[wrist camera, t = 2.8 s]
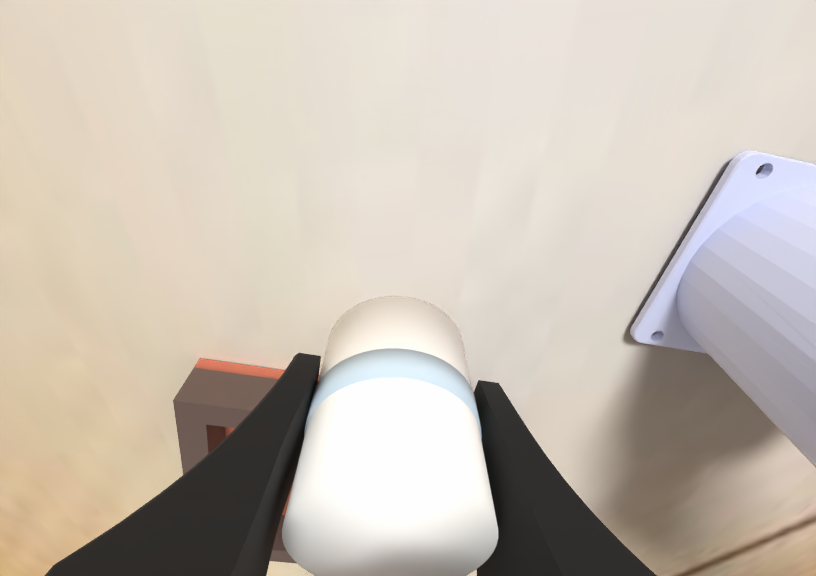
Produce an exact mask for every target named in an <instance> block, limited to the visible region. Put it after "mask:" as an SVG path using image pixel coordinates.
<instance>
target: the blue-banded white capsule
mask: <svg viewBox="0 0 816 576" xmlns="http://www.w3.org/2000/svg"><path fill="white" fill-rule="evenodd" d="M481 438H482V434H481V425H480V420H479V415H478V410H477V405H476V400H475V396H474V392H473V390H472V388H471V383H470V378H469V372H468V367H467V362H466V357H465V351H464V346H463V341H462V337H461V334H460V332H459V330H458V328H457V326H456V325H455V323H454V322H453V321H452V319H451V318H450V317H449V316H448V315H447V314H445V313H444V312H443V311H442V310H440V309H439V308H437V307H436V306H434V305H432V304H430V303H427V302H425V301H422V300H419V299H415V298H410V297H402V296H387V297H379V298H375V299H371V300H368V301H365V302H362V303H360V304H358V305H356V306H354V307H353V308H351V309H350V310H348V311H347V312H346V313H345V314H344V315H342V316H341V317H340V319H339V320H338V321H337V322H336V324H335V325H334V327H333V328H332V331H331V333H330V336H329V339H328V344H327V348H326V352H325V356H324V360H323V364H322V368H321V372H320V376H319V380H318V384H317V386H316V388H315V390H314V393H313V397H312V401H311V405H310V409H309V413H308V417H307V421H306V425H305V430H304V441H303V445H302V449H301V453H300V457H299V461H298V466H297V470H296V474H295V478H294V482H293V486H292V490H291V494H290V498H289V502H288V506H287V510H286V514H285V518H284V522H283V527H282V540H283V544H284V547H285V548H286V550H287V552H288V554H289V555H290V556H291V557H292V559H293V560H294V561H295V562H296V563H298V564H299V565H300V566H301V567H303V568H304V569H305V570H307V571H308V572H310V573H312V574H314V575H316V576H466V575H468V574H469V573H471V572H473V571H474V570H476V569H477V568H478V567H480V566H481V565H482V564H483V563H484V562H485V561H486V560H488V559H489V557H490V556H491V554H492V553H493V552H494V550H495V547H496V545H497V542H498V526H497V520H496V515H495V510H494V504H493V499H492V494H491V489H490V483H489V478H488V473H487V468H486V462H485V457H484V452H483V446H482V441H481Z"/></svg>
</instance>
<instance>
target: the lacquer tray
mask: <svg viewBox="0 0 816 576" xmlns="http://www.w3.org/2000/svg"><path fill="white" fill-rule="evenodd" d="M284 372H285V370H278V369H271V368H264V367H257V366H250V365H243V364H236V363H229V362H222V361H215V360H208V359H201V358H200V359H199V361H198V362H197V364H196V365H195V367H194V369H193V370H192V372H191V373H190V375H189V376H188V378H187V380H186V381H185V383H184V384H183V386H182V387H181V389H180V391H179V392H178V394H177V395H176V397H175V398H174V400H173V402H174V410H175V417H176V424H177V432H178V439H179V446H180V453H181V461H182V468H183V475H184V474H185V473H186V472H188V471H189V470H190V469H191V468H192V467H194V466H195V465H196V464H197V463H199V462H200V461H201V460H202V459H203V458H204V457H205V456H207V455H208V454H209V453H210V452H211V451H212V450H213V449H214V448H215V447H216V446H218V445H219V444H220V443H221V442H222V441H223V440H224V439H225V438H226V437H227V436H228V435H229V434H230V433H231V432H232V431H233V430H234V429H235V428H236V427H237V426H238V425H239V424H240V423H241V422H242V421H243V420H244V419H245V418H246V417H247V416H248V414H249V413H250V412H251V411H252V410H253V409H254V408H255V407H256V406H257V405H258V404H259V402H260V401H261V400H262V399H263V398H264V397H265V395H266V394H267V393H268V392H269V391H270V389H271V388H272V387H273V386H274V385H275V383H276V382H277V381H278V379H279V378H280V377H281V376H282V374H283V373H284ZM319 376H320V375H319ZM319 376H318V380H319ZM293 482H294V481H293ZM292 486H293V484H292ZM291 490H292V487H291ZM291 490H290V492H289V495H288V498H287V501H286V504H285V507H284V510H283V513H282V516H281V520H280V523H279V526H278V530H277V533H276V537H275V541H274V545H273V549H272V553H271V557H270V561H278V562H288V563H296V562H295V561H294V560H293V559H292V557H291V556H290V555H289V554H288V552H287V550H286V548H285V547H284V544H283V540H282V527H283V522H284V518H285V514H286V510H287V506H288V502H289V498H290V494H291Z"/></svg>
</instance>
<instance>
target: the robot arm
mask: <svg viewBox="0 0 816 576" xmlns="http://www.w3.org/2000/svg"><path fill="white" fill-rule="evenodd" d="M763 164H764V167H763V170H762V171H761V172H760V173H758V174H756V171H757V169H758V168H759V167H760V166H761V165H763ZM656 331H658V332H657V333H656V334H654V335H652V334H653V333H654V332H656ZM630 334H631V336H632V337H633V338H634V340H635V341H637V342H639V343H645V344H651V345H657V346H663V347H669V348H675V349H682V350H688V351H694V352H700V353H706V354H709V355H710V356H711V357H712V358H713V359H714V361H715V362H716V363H717V364H718V365H719V366H720V367H721V368H722V369H723V370H724V371H725V372H726V373H727V374H728V375H729V376H730V377H731V379H732V380H733V381H734V382H735V383H736V384H737V385H738V386H739V387H740V388H741V389H742V390H743V391H744V392H745V393H746V394H747V396H748V397H749V398H750V399H751V400H752V401H753V402H754V403H755V404H756V405H757V406H758V407H759V408H760V409H761V410H762V411H763V412H764V414H765V415H766V416H767V417H768V418H769V419H770V420H771V421H772V422H773V423H774V424H775V425H776V426H777V427H778V428H779V429H780V430H781V432H782V433H783V434H784V435H785V436H786V437H787V438H788V439H789V440H790V441H791V442H792V443H793V444H794V445H795V446H796V447H797V448H798V450H799V451H800V452H801V453H802V454H803V455H804V456H805V457H806V458H807V459H808V460H809V461H810V462H811V463H812V464H813V465H814V466H815V468H816V164H812V163H807V162H803V161H798V160H794V159H790V158H785V157H781V156H776V155H772V154H767V153H763V152H758V151H754V150H746V151H743V152H741V153H739V154H738V155H736V156H735V157H734V158H733V159H732V161H731V162H730V163H729V165H728V167H727V168H726V170H725V172H724V173H723V175H722V177H721V178H720V180H719V182H718V183H717V185H716V187H715V188H714V190H713V192H712V193H711V195H710V197H709V198H708V200H707V202H706V203H705V205H704V207H703V208H702V210H701V212H700V213H699V215H698V217H697V218H696V220H695V222H694V223H693V225H692V227H691V228H690V230H689V232H688V233H687V235H686V237H685V238H684V240H683V242H682V243H681V245H680V247H679V248H678V250H677V252H676V253H675V255H674V257H673V258H672V260H671V262H670V263H669V265H668V267H667V268H666V270H665V272H664V273H663V275H662V277H661V278H660V280H659V282H658V283H657V285H656V287H655V288H654V290H653V292H652V293H651V295H650V297H649V298H648V300H647V302H646V303H645V305H644V307H643V308H642V310H641V312H640V313H639V315H638V317H637V318H636V320H635V322H634V323H633V325H632V327H631V329H630ZM320 359H321V356H316V355H310V354H303V353H299V354H297V355H295V357H294V358H293V360H292V361H291V363H290V364H289V366H288V367H287V369H286V370H285V372H284V373H283V374H282V376H281V377H280V378H279V379H278V381H277V382H276V383H275V385H274V386H273V387H272V388H271V389H270V391H269V392H268V393H267V394H266V395H265V397H264V398H263V399H262V400H261V401H260V402H259V404H258V405H257V406H256V407H255V408H254V409H253V410H252V411H251V412H250V413H249V414H248V416H247V417H246V418H245V419H244V420H243V421H242V422H241V423H240V424H239V425H238V426H237V427H236V428H235V429H234V430H233V431H232V432H231V433H230V434H229V435H228V436H227V437H226V438H225V439H224V440H223V441H222V442H221V443H220V444H219V445H218V446H216V447H215V448H214V449H213V450H212V451H211V452H210V453H209V454H208V455H207V456H205V457H204V458H203V459H202V460H201V461H200V462H199V463H197V464H196V465H195V466H194V467H192V468H191V469H190V470H189V471H188V472H186V473H185V474H184V475H183V476H182V477H180V478H179V479H178V480H177V481H176V482H174V483H173V484H172V485H170V486H169V487H168V488H167V489H165V490H164V491H163V492H161V493H160V494H159V495H157V496H156V497H155V498H153V499H152V500H150V501H149V502H148V503H146V504H145V505H143V506H142V507H141V508H139V509H138V510H137V511H135V512H134V513H132V514H131V515H130V516H128V517H127V518H126V519H124V520H123V521H121V522H120V523H118V524H117V525H115V526H114V527H112V528H111V529H110V530H108V531H106V532H105V533H103V534H102V535H100V536H99V537H97V538H95V539H94V540H92V541H91V542H89V543H88V544H86V545H85V546H83V547H81V548H80V549H78V550H77V551H75V552H74V553H72V554H71V555H69V556H67V557H66V558H64V559H63V560H61V561H59V562H58V563H56V564H55V565H54V566H53V567H52V568H51V569H50V570H49V571H48V572H47V574H46V575H45V576H266V574H267V569H268V565H269V561H270V557H271V553H272V549H273V545H274V541H275V537H276V533H277V530H278V526H279V523H280V520H281V516H282V513H283V510H284V507H285V504H286V501H287V498H288V495H289V492H290V490H291V487H292V484H293V481H294V478H295V474H296V470H297V466H298V461H299V457H300V453H301V449H302V445H303V441H304V430H305V425H306V421H307V417H308V413H309V409H310V405H311V401H312V397H313V393H314V390H315V388H316V386H317V384H318V376H319V368H320ZM474 396H475V400H476V405H477V410H478V415H479V420H480V425H481V434H482V438H481V441H482V446H483V452H484V457H485V462H486V468H487V473H488V478H489V483H490V489H491V494H492V499H493V504H494V510H495V515H496V520H497V526H498V542H497V545H496V547H495V550H494V552H493V553H492V554H491V556H490V557H489V559H488V560H486V561H485V562H484V563H483V564H482V565H481V566H480V567H478V568H477V576H656V575H655V574H654V573H653V572H652V571H651V570H650V569H649V568H648V567H646V566H645V565H644V564H643V563H642V562H641V561H640V560H639V559H638V558H637V557H636V556H635V555H634V554H633V553H632V552H631V551H629V550H628V549H627V548H626V547H625V546H624V545H623V544H622V543H621V542H620V541H619V540H618V539H617V537H616V536H615V535H614V534H613V533H612V532H611V531H610V530H609V529H608V528H607V527H606V526H605V525H604V524H603V523H602V522H601V521H600V520H599V519H598V518H597V517H596V516H595V515H594V513H593V512H592V511H591V510H590V509H589V508H588V507H587V506H586V504H585V503H584V502H583V501H582V500H581V499H580V497H579V496H578V495H577V494H576V493H575V492H574V491H573V489H572V488H571V487H570V486H569V484H568V483H567V482H566V481H565V480H564V478H563V477H562V476H561V474H560V473H559V472H558V471H557V469H556V468H555V467H554V465H553V464H552V463H551V461H550V460H549V459H548V457H547V456H546V455H545V453H544V452H543V450H542V449H541V447H540V446H539V445H538V443H537V442H536V440H535V439H534V437H533V436H532V434H531V433H530V431H529V430H528V428H527V427H526V425H525V424H524V422H523V421H522V419H521V418H520V416H519V415H518V413H517V411H516V410H515V408H514V407H513V405H512V404H511V402H510V400H509V399H508V397H507V396H506V394H505V393H504V391H503V389H502V388H501V386H500V385H499V383H494V382H487V381H480V380H479V381H478V383H477V386H476V388H475V391H474Z"/></svg>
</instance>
